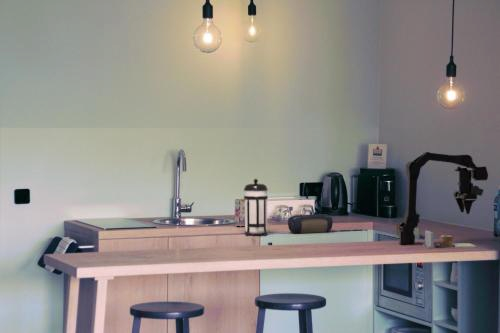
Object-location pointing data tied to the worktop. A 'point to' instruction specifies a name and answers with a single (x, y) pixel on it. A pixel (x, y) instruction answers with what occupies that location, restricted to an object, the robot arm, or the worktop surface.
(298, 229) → the portable speaker
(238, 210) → the candy bar box
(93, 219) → the worktop surface
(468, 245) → the coaster
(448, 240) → the letter cube
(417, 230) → the beverage carton
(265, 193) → the coffee press
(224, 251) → the worktop surface
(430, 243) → the screen
